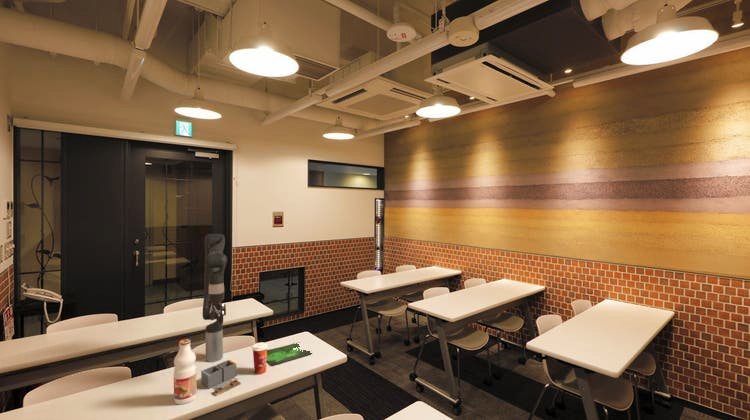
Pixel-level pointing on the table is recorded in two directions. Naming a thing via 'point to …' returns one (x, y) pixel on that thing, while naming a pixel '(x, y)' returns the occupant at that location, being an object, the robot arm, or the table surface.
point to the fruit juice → (185, 374)
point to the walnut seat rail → (226, 387)
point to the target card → (224, 383)
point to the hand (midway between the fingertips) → (216, 321)
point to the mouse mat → (285, 354)
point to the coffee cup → (260, 357)
